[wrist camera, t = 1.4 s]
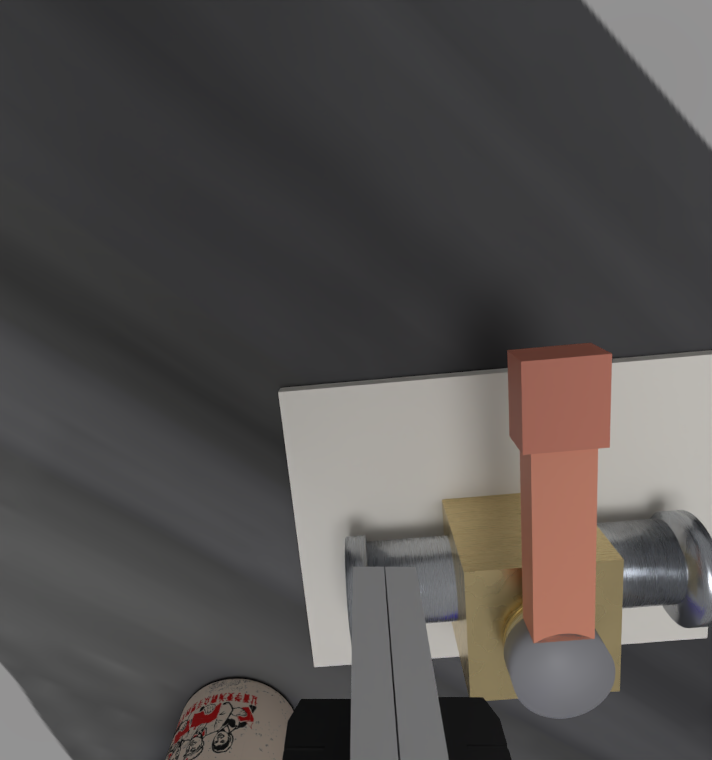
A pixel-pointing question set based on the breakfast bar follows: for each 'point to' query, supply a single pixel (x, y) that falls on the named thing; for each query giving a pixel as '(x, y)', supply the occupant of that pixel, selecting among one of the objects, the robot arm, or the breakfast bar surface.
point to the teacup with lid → (232, 723)
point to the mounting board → (477, 470)
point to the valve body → (504, 578)
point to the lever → (559, 526)
